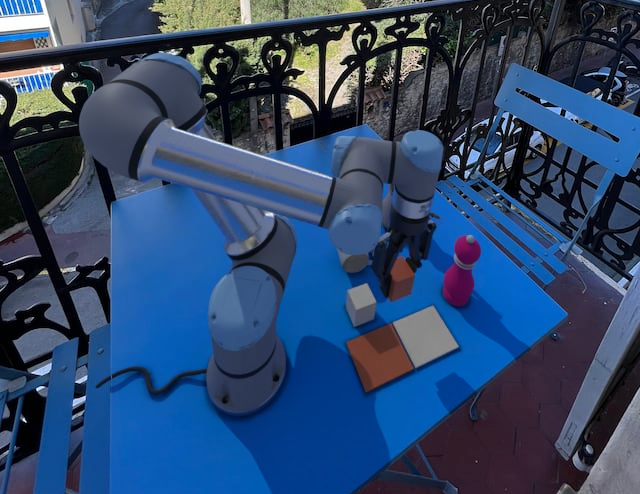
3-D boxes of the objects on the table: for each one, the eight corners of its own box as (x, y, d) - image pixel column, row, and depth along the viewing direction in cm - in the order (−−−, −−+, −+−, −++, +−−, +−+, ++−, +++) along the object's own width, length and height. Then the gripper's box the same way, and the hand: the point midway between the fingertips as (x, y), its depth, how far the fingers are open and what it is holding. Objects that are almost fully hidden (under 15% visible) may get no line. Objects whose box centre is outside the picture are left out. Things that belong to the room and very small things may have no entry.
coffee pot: (368, 216, 120) (372, 176, 114) (397, 201, 126) (403, 163, 120) (416, 270, 105) (424, 228, 98) (446, 250, 111) (456, 210, 105)
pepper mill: (435, 285, 101) (448, 227, 93) (459, 278, 104) (474, 220, 95) (450, 312, 95) (466, 253, 87) (476, 303, 98) (494, 245, 89)
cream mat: (415, 368, 84) (416, 367, 83) (392, 323, 92) (393, 322, 91) (458, 347, 88) (458, 346, 88) (433, 306, 96) (433, 305, 96)
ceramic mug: (341, 278, 101) (344, 256, 98) (333, 251, 108) (335, 230, 105) (381, 269, 104) (384, 248, 101) (371, 244, 111) (374, 223, 108)
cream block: (354, 327, 90) (356, 310, 88) (345, 307, 94) (347, 290, 92) (374, 319, 92) (376, 302, 90) (365, 299, 96) (367, 282, 94)
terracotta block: (391, 302, 83) (394, 283, 81) (379, 282, 87) (382, 263, 85) (411, 294, 86) (415, 275, 83) (399, 274, 90) (402, 255, 87)
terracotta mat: (365, 393, 79) (365, 391, 79) (346, 343, 87) (346, 342, 87) (413, 369, 83) (413, 368, 83) (390, 324, 91) (391, 323, 91)
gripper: (379, 235, 70) (365, 319, 80) (460, 207, 78) (439, 287, 87) (360, 204, 76) (350, 287, 86) (437, 182, 84) (420, 259, 93)
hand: (395, 287), depth 86 cm, fingers closed on terracotta block, 5 cm apart
